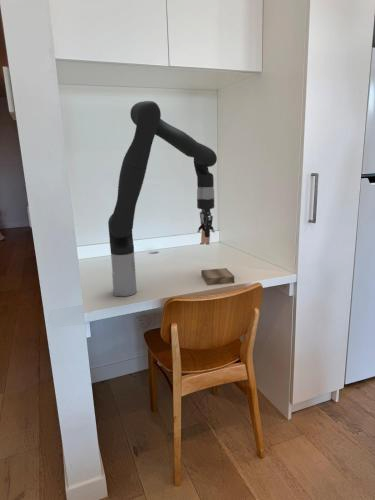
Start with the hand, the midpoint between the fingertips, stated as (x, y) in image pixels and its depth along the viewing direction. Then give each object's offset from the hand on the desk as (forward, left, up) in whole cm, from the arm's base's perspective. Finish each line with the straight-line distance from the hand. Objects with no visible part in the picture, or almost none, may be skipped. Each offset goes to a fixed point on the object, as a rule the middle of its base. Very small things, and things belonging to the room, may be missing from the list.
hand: (206, 235), depth 154 cm
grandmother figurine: (0, 0, -4) cm, 4 cm away
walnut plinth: (+4, -5, -19) cm, 20 cm away
